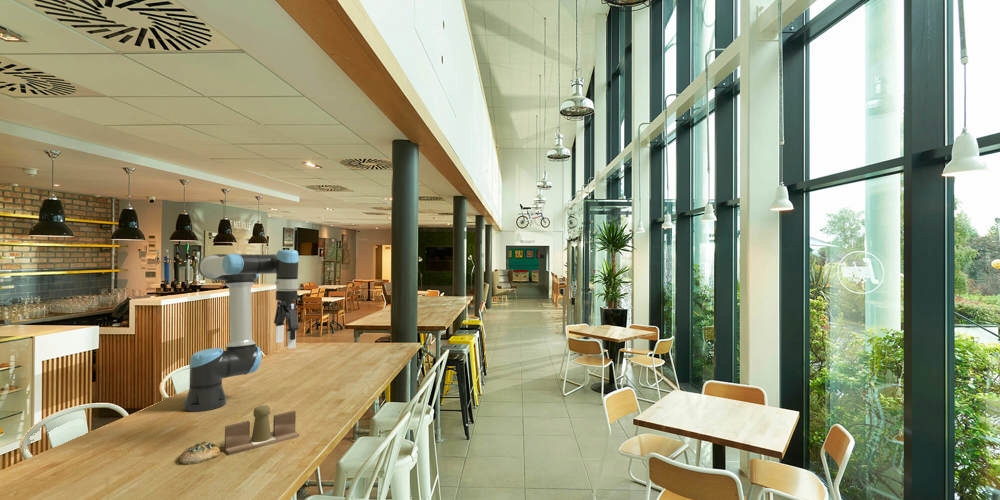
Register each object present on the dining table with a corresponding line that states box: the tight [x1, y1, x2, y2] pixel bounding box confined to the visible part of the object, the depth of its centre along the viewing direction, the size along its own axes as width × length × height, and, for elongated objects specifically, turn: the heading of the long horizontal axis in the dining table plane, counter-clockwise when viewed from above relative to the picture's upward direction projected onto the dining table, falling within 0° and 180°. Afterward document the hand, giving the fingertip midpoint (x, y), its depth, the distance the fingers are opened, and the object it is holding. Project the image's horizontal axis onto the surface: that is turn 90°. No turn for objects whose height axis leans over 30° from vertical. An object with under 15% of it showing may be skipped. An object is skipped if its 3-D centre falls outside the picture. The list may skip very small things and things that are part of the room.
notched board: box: [221, 410, 300, 456], centre depth 155 cm, size 9×22×8 cm, turn 135°
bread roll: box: [178, 440, 221, 465], centre depth 143 cm, size 11×11×5 cm
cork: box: [251, 405, 272, 442], centre depth 156 cm, size 6×6×11 cm
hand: (285, 345), depth 174 cm, fingers open, 13 cm apart
